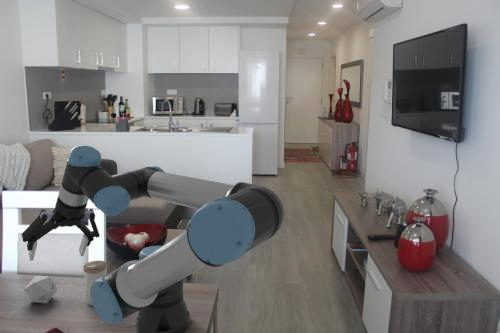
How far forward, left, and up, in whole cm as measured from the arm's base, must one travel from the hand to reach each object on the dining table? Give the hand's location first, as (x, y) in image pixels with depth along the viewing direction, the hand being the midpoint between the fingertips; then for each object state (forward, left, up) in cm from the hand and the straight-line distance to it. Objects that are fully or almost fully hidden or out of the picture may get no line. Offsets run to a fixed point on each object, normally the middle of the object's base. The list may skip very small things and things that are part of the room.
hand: (56, 255), depth 121 cm
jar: (-1, -11, -19) cm, 22 cm away
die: (+13, -1, -19) cm, 23 cm away
